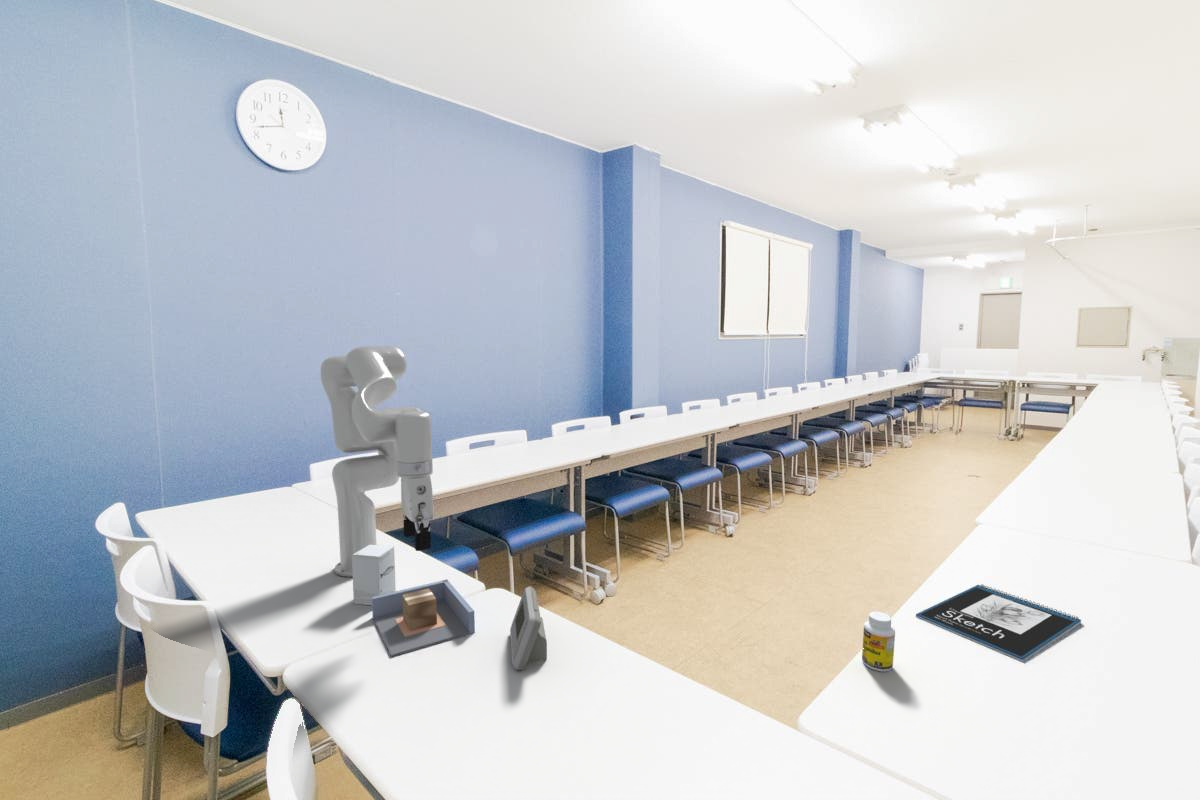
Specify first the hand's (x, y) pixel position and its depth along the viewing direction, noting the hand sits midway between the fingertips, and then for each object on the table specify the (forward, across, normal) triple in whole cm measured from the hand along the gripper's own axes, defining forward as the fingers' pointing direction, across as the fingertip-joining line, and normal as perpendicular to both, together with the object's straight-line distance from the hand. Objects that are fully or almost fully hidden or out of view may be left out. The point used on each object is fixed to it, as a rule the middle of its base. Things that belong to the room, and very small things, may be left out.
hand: (417, 542), depth 124 cm
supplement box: (+20, +18, +6) cm, 28 cm away
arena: (+19, -2, 0) cm, 19 cm away
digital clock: (+19, -23, -16) cm, 34 cm away
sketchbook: (+19, -71, -114) cm, 135 cm away
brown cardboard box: (+19, 0, 0) cm, 19 cm away
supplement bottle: (+19, -66, -73) cm, 100 cm away
